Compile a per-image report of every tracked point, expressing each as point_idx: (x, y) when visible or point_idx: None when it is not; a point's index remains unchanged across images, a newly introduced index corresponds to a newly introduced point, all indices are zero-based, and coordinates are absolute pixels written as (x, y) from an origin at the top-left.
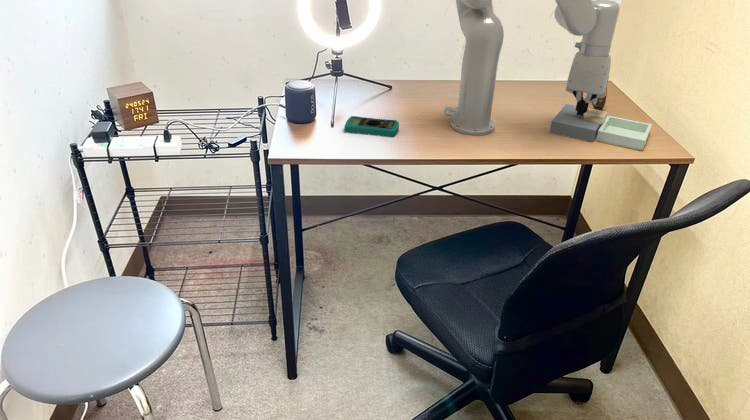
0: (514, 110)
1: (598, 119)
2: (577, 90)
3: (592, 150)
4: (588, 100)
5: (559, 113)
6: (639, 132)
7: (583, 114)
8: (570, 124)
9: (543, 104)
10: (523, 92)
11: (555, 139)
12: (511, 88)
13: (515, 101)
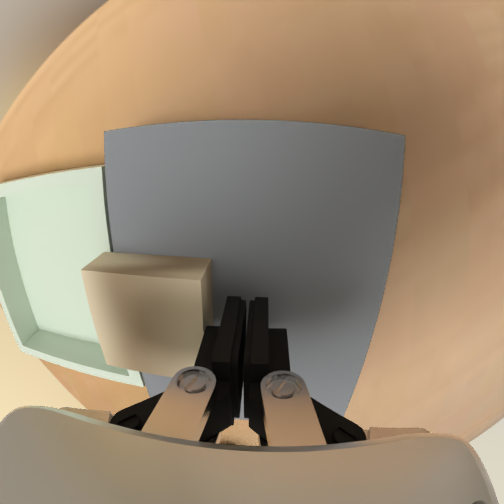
0: (495, 314)
1: (112, 263)
2: (329, 450)
3: (126, 47)
4: (184, 388)
5: (375, 296)
6: (49, 325)
7: None
8: (274, 133)
9: (402, 410)
10: (441, 433)
11: (321, 63)
12: (461, 431)
13: (476, 378)
